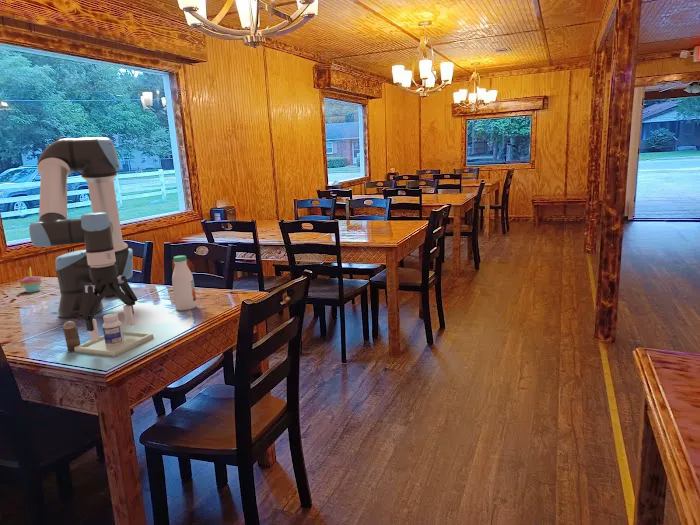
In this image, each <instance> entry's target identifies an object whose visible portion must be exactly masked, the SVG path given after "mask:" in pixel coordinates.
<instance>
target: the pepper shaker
mask: <svg viewBox="0 0 700 525" xmlns="http://www.w3.org/2000/svg"><path fill="white" fill-rule="evenodd" d="M62 327H63V328H62V330H63V334H64V340H65V343H66V347H67V351H68V352H75V350H74V347H76V346H79V345H81V344H82V343H81V340H80V336H79V331H78V326H77V324H76V323H75V322H74V321H72V320H68V321H65V323H63V326H62Z"/></svg>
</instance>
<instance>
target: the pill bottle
mask: <svg viewBox="0 0 700 525" xmlns="http://www.w3.org/2000/svg"><path fill="white" fill-rule="evenodd" d="M118 315H119V314H118V313H109V314H108V313H107V314H105V315H103V316H102V317H103V318H102V319H103V323H102V324H101V325H102V331H103V332H102V333H103V335H104V339H105V344H106V345H107V346H114V345H118V344H121V343H123V342H124V336H123V331H124V330H123V325H122V321H120V320H119V316H118Z"/></svg>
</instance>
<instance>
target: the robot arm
mask: <svg viewBox="0 0 700 525" xmlns="http://www.w3.org/2000/svg"><path fill="white" fill-rule="evenodd" d="M115 147H116V146H115V145H114V142H113V140H112V139H111V138H109V137H99V136H97V137H94V136H93V137H79V138H61V139H58V140H56V141H53V142H52V143H50V144H49V145H48V146H46V148H45V149H44V150H43V151H42V152H41V154H40V156H39V158H38V161H37V172H38V174H39V175H40V186H39V188H40V189H39V210H38V212H39V213H38V221H35V222H30V224H29V227H28V229H29V230H28V231H29V236H30V241H31V243H32V245H33V246H34V247H36V248H41V247H42V248H43V247H45V248H46V247H54V246H64V245H73V244H83V243H84V246H85V249H80V250H75V251H70V252H66V253H64V254H61V255H59V256H57V257H56V258H55V260H54V261H55V262H54V263H55V272H56V276H57V281H58V287H59V292H60V299H59V303H58V304H59V306H58V310H57V312H58V316H59V317H60V318H64V319H71V318H73V319H75V318H77V319H78V320H79V321H80V320H81V321H85V322H84V323H85V327H86V331H87V332H88V334H89V339H90V340H91V341H99V337H100V335H99V329H98V324H97V319H95V318H94V317H95V316H96V314H97V313H99V312H101V311H103V309H104V303H103V302H102V301H103V299H104V298H105V296H108V295H110V294H114V296H116V298H117V299H119V300H120V301H121V302H122V303H124V305H123V306H122V307H123V308H122V309H123V313H124V321H125V326H127V327H134V326H135V320H134V314H135V311H134V306H135V305H136V302H138V297H137V296H136V294H135V293H134V291H133V289H132V287H131V286H130V285H129V283H128V281H127V280H128V279H131V278H132V277H133V274H134V273H133V272H134V271H133V270H134V269H133V268H134V266H133V265H134V263H133V262H134V261H133V260H134V256H133V248H129V245H128V244H127V243H126V242H125V241H123V240H124V239H123V234H122V228H121V221H120V215H119V208H118V204H117V203H118V201H117V195H116V188H115V182H114V179H115V178H116V177H117V175H118V173H117V171H119V170H121V165H120V161H119V157H118V154H117V151H116V148H115ZM71 173H80V175H81V178H82V179H84V180H85V181H86V182H87V188H88V193H89V199H90V205H91V211H92V212H88V213H87V212H86V213H83V214H82V215H81V216H80V217H79V218H73V219H71V218H70V219H68V178H69V177H70V174H71ZM118 283H119V285H120V288H119V287H118V286H117V285H118ZM108 297H109V296H108ZM90 340H89V341H90Z"/></svg>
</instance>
